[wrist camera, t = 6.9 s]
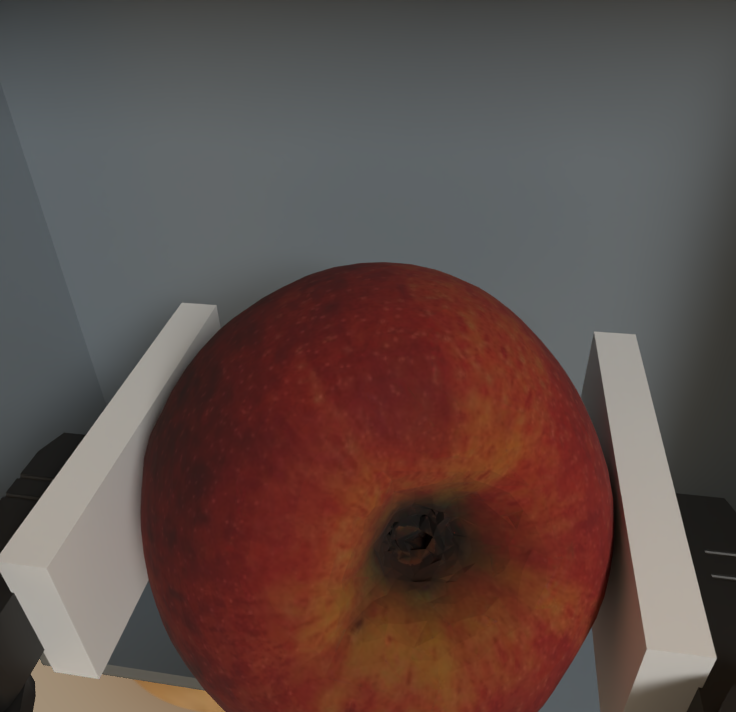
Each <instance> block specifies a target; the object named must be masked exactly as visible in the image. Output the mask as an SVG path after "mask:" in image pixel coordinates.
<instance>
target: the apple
mask: <svg viewBox="0 0 736 712" xmlns="http://www.w3.org/2000/svg"><path fill="white" fill-rule="evenodd" d="M140 515H141V534H142V543H143V553H144V558H145V564H146V569H147V574H148V579H149V583H150V587H151V590H152V593H153V597H154V600H155V603H156V606H157V609H158V612H159V614H160V617H161V620H162V623H163V625H164V627H165V629H166V631H167V634H168V636H169V638H170V640H171V642H172V644H173V645H174V647H175V649H176V650H177V652H178V653H179V655H180V657H181V658H182V660H183V661H184V663H185V664H186V666H187V667H188V669H189V670H190V671H191V673H192V674H193V675H194V677H195V678H196V679H197V681H198V682H199V683H200V685H201V686H202V687H203V689H204V690H205V691H206V692H207V693H208V694H209V695H210V696H211V697H212V698H213V699H214V700H215V701H216V702H217V704H218V705H219V706H220V707H221V708H222V709H223V710H224V711H226V712H538V711H539V710H540V709H541V708H542V707H543V706H544V704H545V703H546V701H547V700H548V699H549V697H550V696H551V694H552V693H553V691H554V690H555V688H556V687H557V685H558V684H559V682H560V680H561V679H562V677H563V676H564V674H565V672H566V671H567V669H568V668H569V666H570V664H571V663H572V661H573V660H574V658H575V656H576V654H577V653H578V651H579V649H580V648H581V646H582V644H583V642H584V641H585V639H586V637H587V635H588V633H589V631H590V629H591V627H592V626H593V624H594V622H595V620H596V618H597V615H598V613H599V610H600V607H601V605H602V602H603V599H604V596H605V592H606V588H607V584H608V580H609V576H610V570H611V563H612V555H613V543H614V510H613V496H612V490H611V484H610V478H609V472H608V468H607V464H606V461H605V458H604V455H603V451H602V448H601V445H600V442H599V439H598V436H597V433H596V431H595V428H594V426H593V423H592V421H591V419H590V417H589V414H588V412H587V410H586V407H585V405H584V403H583V401H582V399H581V397H580V395H579V393H578V391H577V389H576V388H575V386H574V385H573V383H572V381H571V380H570V378H569V376H568V375H567V373H566V372H565V370H564V369H563V368H562V366H561V365H560V363H559V362H558V360H557V359H556V358H555V357H554V355H553V354H552V353H551V352H550V351H549V349H548V348H547V347H546V346H545V345H544V343H543V342H542V341H541V340H540V339H539V338H538V336H537V335H536V334H535V333H534V332H533V331H532V330H531V329H530V328H529V327H528V326H527V325H526V324H525V323H524V322H523V321H522V320H521V319H520V318H519V317H518V316H517V315H516V314H515V313H514V312H512V311H511V310H510V309H509V308H508V307H506V306H505V305H504V304H502V303H501V302H500V301H499V300H497V299H496V298H495V297H493V296H492V295H490V294H489V293H487V292H486V291H484V290H482V289H481V288H479V287H477V286H475V285H473V284H470V283H468V282H466V281H463V280H461V279H459V278H457V277H454V276H452V275H450V274H447V273H444V272H441V271H438V270H435V269H431V268H427V267H422V266H417V265H413V264H404V263H391V262H372V263H357V264H351V265H344V266H338V267H333V268H329V269H326V270H323V271H319V272H316V273H313V274H310V275H307V276H305V277H303V278H301V279H298V280H296V281H294V282H292V283H290V284H288V285H286V286H284V287H282V288H280V289H278V290H276V291H274V292H272V293H271V294H269V295H267V296H265V297H263V298H262V299H260V300H259V301H257V302H256V303H254V304H253V305H251V306H250V307H249V308H247V309H246V310H244V311H243V312H241V313H240V314H238V315H237V316H235V317H234V318H233V319H231V320H230V321H229V322H228V323H227V324H225V325H224V326H223V327H222V328H221V329H220V330H218V331H217V333H216V334H215V335H214V336H213V337H212V338H211V339H210V340H209V341H208V342H207V343H206V344H205V345H204V346H203V348H202V349H201V350H200V351H199V352H198V353H197V355H196V356H195V357H194V359H193V360H192V361H191V362H190V364H189V365H188V366H187V368H186V369H185V371H184V372H183V374H182V375H181V377H180V378H179V380H178V382H177V383H176V385H175V386H174V388H173V390H172V391H171V393H170V395H169V397H168V399H167V401H166V404H165V406H164V408H163V410H162V412H161V414H160V416H159V418H158V420H157V422H156V424H155V426H154V428H153V430H152V432H151V434H150V437H149V440H148V444H147V448H146V452H145V457H144V464H143V476H142V490H141V510H140Z"/></svg>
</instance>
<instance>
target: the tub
mask: <svg viewBox="0 0 736 712" xmlns="http://www.w3.org/2000/svg"><path fill="white" fill-rule="evenodd" d="M372 262H391V263H404V264H413V265H417V266H422V267H427V268H431V269H435V270H438V271H441V272H444V273H447V274H450V275H452V276H454V277H457V278H459V279H461V280H463V281H466V282H468V283H470V284H473V285H475V286H477V287H479V288H481V289H482V290H484V291H486V292H487V293H489V294H490V295H492V296H493V297H495V298H496V299H497V300H499V301H500V302H501V303H502V304H504V305H505V306H506V307H508V308H509V309H510V310H511V311H512V312H514V313H515V314H516V315H517V316H518V317H519V318H520V319H521V320H522V321H523V322H524V323H525V324H526V325H527V326H528V327H529V328H530V329H531V330H532V331H533V332H534V333H535V334H536V335H537V336H538V338H539V339H540V340H541V341H542V342H543V343H544V345H545V346H546V347H547V348H548V349H549V351H550V352H551V353H552V354H553V355H554V357H555V358H556V359H557V360H558V362H559V363H560V365H561V366H562V368H563V369H564V370H565V372H566V373H567V375H568V376H569V378H570V380H571V381H572V383H573V385H574V386H575V388H576V389H577V391H578V393H579V395H580V397H581V394H582V389H583V384H584V379H585V374H586V369H587V364H588V359H589V354H590V349H591V344H592V339H593V334H594V332H608V333H623V334H636V338H637V342H638V346H639V350H640V354H641V358H642V362H643V366H644V370H645V374H646V378H647V382H648V386H649V390H650V394H651V398H652V402H653V406H654V410H655V414H656V418H657V422H658V426H659V430H660V434H661V438H662V442H663V446H664V450H665V454H666V458H667V462H668V466H669V470H670V474H671V478H672V482H673V486H674V490H675V493H679V494H689V495H699V496H708V497H718V498H725V499H726V501H727V502H728V503H729V504H730V505H731V507H732V508H733V509H734V510H735V511H736V0H0V499H1V498H2V497H5V496H6V491H7V490H8V489H9V488H10V486H11V485H12V484H13V483H14V481H15V480H16V479H17V478H20V476H21V475H20V474H21V472H22V471H23V470H24V469H25V467H26V466H27V465H28V463H29V462H30V461H31V460H32V458H33V457H34V456H35V454H36V453H37V452H38V451H39V450H40V449H42V448H43V447H45V446H46V445H47V444H49V443H50V442H52V441H53V440H54V439H56V438H57V437H59V436H60V435H61V434H63V433H73V434H83V435H86V434H87V433H88V431H89V430H90V429H91V427H92V426H93V425H94V423H95V422H96V420H97V419H98V418H99V416H100V415H101V413H102V412H103V411H104V409H105V408H106V407H107V405H108V404H109V402H110V401H111V400H112V398H113V397H114V396H115V394H116V393H117V391H118V390H119V389H120V387H121V386H122V384H123V383H124V382H125V380H126V379H127V378H128V376H129V375H130V373H131V372H132V371H133V369H134V368H135V367H136V365H137V364H138V362H139V361H140V360H141V358H142V357H143V355H144V354H145V353H146V351H147V350H148V349H149V347H150V346H151V344H152V343H153V342H154V340H155V339H156V338H157V336H158V335H159V333H160V332H161V331H162V329H163V328H164V326H165V325H166V324H167V322H168V321H169V320H170V318H171V317H172V315H173V314H174V313H175V311H176V310H177V309H178V307H179V306H180V304H181V303H194V304H208V305H217V311H218V316H219V322H220V327H221V328H222V327H223V326H224V325H225V324H227V323H228V322H229V321H230V320H231V319H233V318H234V317H235V316H237V315H238V314H240V313H241V312H243V311H244V310H246V309H247V308H249V307H250V306H251V305H253V304H254V303H256V302H257V301H259V300H260V299H262V298H263V297H265V296H267V295H269V294H271V293H272V292H274V291H276V290H278V289H280V288H282V287H284V286H286V285H288V284H290V283H292V282H294V281H296V280H298V279H301V278H303V277H305V276H307V275H310V274H313V273H316V272H319V271H323V270H326V269H329V268H333V267H338V266H344V265H351V264H357V263H372ZM40 660H41V662H42V664H43V665H47V666H51V665H50V663H49V661H48V659H47V658H46V656H45V654H44V652H43V653H42V655H41V657H40ZM102 674H104V675H110V676H117V677H123V678H129V679H136V680H142V681H148V682H155V683H161V684H167V685H174V686H180V687H186V688H193V689H199V690H204V689H203V687H202V686H201V685H200V683H199V682H198V681H197V679H196V678H195V677H194V675H193V674H192V673H191V671H190V670H189V669H188V667H187V666H186V664H185V663H184V661H183V660H182V658H181V657H180V655H179V653H178V652H177V650H176V649H175V647H174V645H173V644H172V642H171V640H170V638H169V636H168V634H167V631H166V629H165V627H164V625H163V623H162V620H161V617H160V614H159V612H158V609H157V606H156V603H155V600H154V597H153V593H152V590H151V587H150V583H149V580H148V582H147V584H146V586H145V588H144V590H143V592H142V594H141V596H140V598H139V600H138V602H137V604H136V606H135V608H134V610H133V613H132V615H131V617H130V619H129V621H128V623H127V625H126V627H125V629H124V631H123V633H122V635H121V637H120V639H119V641H118V643H117V645H116V647H115V649H114V651H113V653H112V655H111V657H110V659H109V661H108V663H107V665H106V667H105V669H104V671H103V673H102ZM538 712H600V704H599V694H598V684H597V674H596V664H595V654H594V644H593V634H592V627H591V629H590V631H589V633H588V635H587V637H586V639H585V641H584V642H583V644H582V646H581V648H580V649H579V651H578V653H577V654H576V656H575V658H574V660H573V661H572V663H571V664H570V666H569V668H568V669H567V671H566V672H565V674H564V676H563V677H562V679H561V680H560V682H559V684H558V685H557V687H556V688H555V690H554V691H553V693H552V694H551V696H550V697H549V699H548V700H547V701H546V703H545V704H544V706H543V707H542V708H541V709H540V710H539V711H538Z"/></svg>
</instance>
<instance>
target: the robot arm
mask: <svg viewBox="0 0 736 712" xmlns="http://www.w3.org/2000/svg"><path fill="white" fill-rule="evenodd" d="M220 329H221V327H220V322H219V316H218V311H217V305H208V304H194V303H181V304H180V306H179V307H178V309H177V310H176V311H175V313H174V314H173V315H172V317H171V318H170V320H169V321H168V322H167V324H166V325H165V326H164V328H163V329H162V331H161V332H160V333H159V335H158V336H157V338H156V339H155V340H154V342H153V343H152V344H151V346H150V347H149V349H148V350H147V351H146V353H145V354H144V355H143V357H142V358H141V360H140V361H139V362H138V364H137V365H136V367H135V368H134V369H133V371H132V372H131V373H130V375H129V376H128V378H127V379H126V380H125V382H124V383H123V384H122V386H121V387H120V389H119V390H118V391H117V393H116V394H115V396H114V397H113V398H112V400H111V401H110V402H109V404H108V405H107V407H106V408H105V409H104V411H103V412H102V413H101V415H100V416H99V418H98V419H97V420H96V422H95V423H94V425H93V426H92V427H91V429H90V430H89V431H88V433H87V434H86V435H83V434H73V433H63V434H61V435H60V436H59V437H57V438H56V439H54V440H53V441H52V442H50V443H49V444H47V445H46V446H45V447H43V448H42V449H40V450H39V451H38V452H37V453H36V454H35V456H34V457H33V458H32V460H31V461H30V462H29V463H28V465H27V466H26V467H25V469H24V470H23V471H22V472H21V474H20V475H21V476H20V478H17V479H16V480H15V481H14V483H13V484H12V485H11V486H10V488H9V489H8V490H7V491H6V496H5V497H2V498H1V499H0V712H33V706H34V701H35V681H34V679H33V678H32V676H31V672H32V670H33V669H34V667H35V665H36V664H37V662H38V660H39V659H40V657H41V655H42V653H43V652H44V654H45V656H46V658H47V659H48V661H49V663H50V665H51V667H52V669H53V671H54V672H57V673H63V674H70V675H76V676H83V677H89V678H95V679H100V677H101V675H102V673H103V671H104V669H105V667H106V665H107V663H108V661H109V659H110V657H111V655H112V653H113V651H114V649H115V647H116V645H117V643H118V641H119V639H120V637H121V635H122V633H123V631H124V629H125V627H126V625H127V623H128V621H129V619H130V617H131V615H132V613H133V610H134V608H135V606H136V604H137V602H138V600H139V598H140V596H141V594H142V592H143V590H144V588H145V586H146V584H147V582H148V580H149V579H148V574H147V569H146V564H145V558H144V553H143V543H142V534H141V515H140V510H141V490H142V476H143V464H144V457H145V452H146V448H147V444H148V440H149V437H150V434H151V432H152V430H153V428H154V426H155V424H156V422H157V420H158V418H159V416H160V414H161V412H162V410H163V408H164V406H165V404H166V401H167V399H168V397H169V395H170V393H171V391H172V390H173V388H174V386H175V385H176V383H177V382H178V380H179V378H180V377H181V375H182V374H183V372H184V371H185V369H186V368H187V366H188V365H189V364H190V362H191V361H192V360H193V359H194V357H195V356H196V355H197V353H198V352H199V351H200V350H201V349H202V348H203V346H204V345H205V344H206V343H207V342H208V341H209V340H210V339H211V338H212V337H213V336H214V335H215V334H216V333H217V331H218V330H220ZM581 399H582V401H583V403H584V405H585V407H586V410H587V412H588V414H589V417H590V419H591V421H592V423H593V426H594V428H595V431H596V433H597V436H598V439H599V442H600V445H601V448H602V451H603V455H604V458H605V461H606V464H607V468H608V472H609V478H610V484H611V490H612V496H613V510H614V543H613V555H612V563H611V570H610V576H609V580H608V584H607V588H606V592H605V596H604V599H603V602H602V605H601V607H600V610H599V613H598V615H597V618H596V620H595V622H594V624H593V626H592V634H593V644H594V654H595V664H596V674H597V684H598V694H599V704H600V712H736V511H735V510H734V509H733V508H732V507H731V505H730V504H729V503H728V502H727V501H726V499H725V498H718V497H708V496H699V495H689V494H679V493H675V490H674V486H673V482H672V478H671V474H670V470H669V466H668V462H667V458H666V454H665V450H664V446H663V442H662V438H661V434H660V430H659V426H658V422H657V418H656V414H655V410H654V406H653V402H652V398H651V394H650V390H649V386H648V382H647V378H646V374H645V370H644V366H643V362H642V358H641V354H640V350H639V346H638V342H637V338H636V334H623V333H608V332H594V334H593V339H592V344H591V349H590V354H589V359H588V364H587V369H586V374H585V379H584V384H583V389H582V394H581Z"/></svg>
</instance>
